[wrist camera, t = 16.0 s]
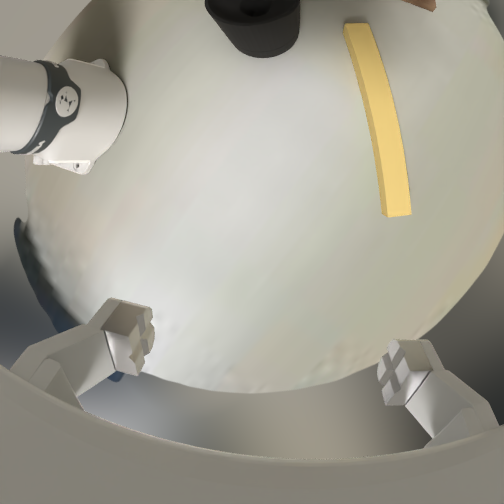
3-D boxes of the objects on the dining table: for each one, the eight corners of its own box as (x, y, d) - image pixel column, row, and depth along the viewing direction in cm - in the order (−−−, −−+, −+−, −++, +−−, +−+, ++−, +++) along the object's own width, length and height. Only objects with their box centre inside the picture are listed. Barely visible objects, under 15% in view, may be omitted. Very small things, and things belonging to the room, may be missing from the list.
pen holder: (315, 46, 27) (317, 6, 18) (246, 73, 30) (225, 40, 20) (281, -2, 25) (272, -45, 16) (217, 23, 28) (191, -14, 18)
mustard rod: (381, 213, 32) (387, 217, 29) (342, 33, 26) (344, 23, 23) (402, 210, 31) (411, 214, 28) (364, 33, 25) (368, 23, 23)
